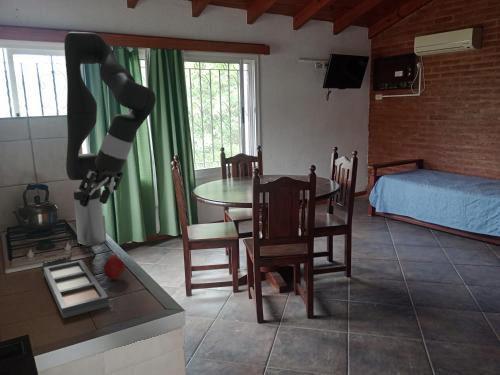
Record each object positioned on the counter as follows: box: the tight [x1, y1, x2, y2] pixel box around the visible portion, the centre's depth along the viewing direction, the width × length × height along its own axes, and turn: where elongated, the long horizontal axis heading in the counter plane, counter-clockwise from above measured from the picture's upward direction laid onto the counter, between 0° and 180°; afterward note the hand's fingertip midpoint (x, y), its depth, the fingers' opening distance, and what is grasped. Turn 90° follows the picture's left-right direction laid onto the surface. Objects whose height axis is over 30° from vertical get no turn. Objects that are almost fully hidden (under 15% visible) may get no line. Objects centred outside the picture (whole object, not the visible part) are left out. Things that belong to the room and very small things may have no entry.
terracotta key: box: [62, 288, 99, 305], centre depth 106 cm, size 8×8×1 cm
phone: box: [41, 257, 71, 272], centre depth 135 cm, size 8×1×15 cm
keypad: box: [43, 259, 110, 319], centre depth 114 cm, size 30×11×3 cm, turn 34°
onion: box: [102, 253, 125, 281], centre depth 119 cm, size 6×6×8 cm
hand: (92, 204), depth 115 cm, fingers open, 8 cm apart
